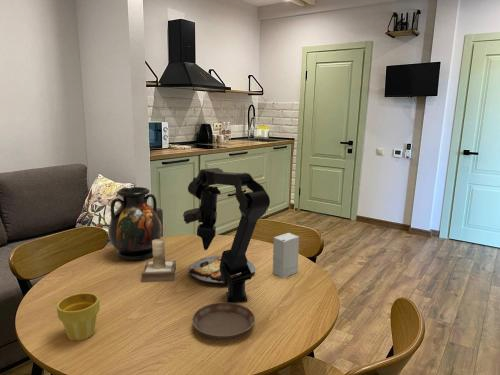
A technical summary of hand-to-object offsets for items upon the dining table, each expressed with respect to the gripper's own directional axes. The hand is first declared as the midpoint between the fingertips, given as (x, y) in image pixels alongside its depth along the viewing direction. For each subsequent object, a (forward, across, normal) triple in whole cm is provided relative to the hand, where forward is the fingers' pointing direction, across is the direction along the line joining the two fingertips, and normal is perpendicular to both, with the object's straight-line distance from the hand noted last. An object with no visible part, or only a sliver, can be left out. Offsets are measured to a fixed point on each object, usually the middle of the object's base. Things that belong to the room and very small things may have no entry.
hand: (206, 243), depth 134 cm
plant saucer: (+10, +33, +7) cm, 35 cm away
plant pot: (+12, +35, -32) cm, 49 cm away
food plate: (+13, -3, +6) cm, 15 cm away
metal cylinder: (+11, -2, -17) cm, 20 cm away
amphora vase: (+17, -22, -30) cm, 41 cm away
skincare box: (+11, -1, +30) cm, 32 cm away
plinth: (+14, -2, -17) cm, 22 cm away
